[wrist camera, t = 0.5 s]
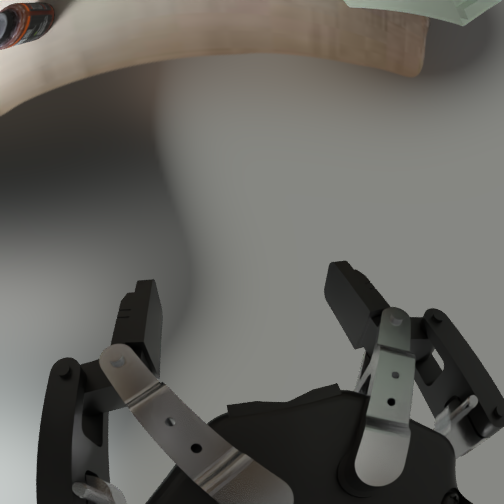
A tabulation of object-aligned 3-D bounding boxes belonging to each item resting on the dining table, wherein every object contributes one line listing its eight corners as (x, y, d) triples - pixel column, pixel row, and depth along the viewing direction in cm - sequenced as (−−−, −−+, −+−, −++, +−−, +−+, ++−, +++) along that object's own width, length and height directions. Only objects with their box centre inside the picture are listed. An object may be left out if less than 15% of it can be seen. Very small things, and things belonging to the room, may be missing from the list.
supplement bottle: (27, 5, 12) (-18, 8, 5) (61, 1, 15) (21, -2, 7) (17, 42, 16) (-29, 57, 8) (49, 40, 18) (6, 51, 11)
